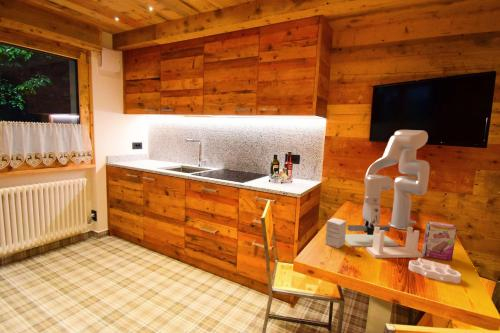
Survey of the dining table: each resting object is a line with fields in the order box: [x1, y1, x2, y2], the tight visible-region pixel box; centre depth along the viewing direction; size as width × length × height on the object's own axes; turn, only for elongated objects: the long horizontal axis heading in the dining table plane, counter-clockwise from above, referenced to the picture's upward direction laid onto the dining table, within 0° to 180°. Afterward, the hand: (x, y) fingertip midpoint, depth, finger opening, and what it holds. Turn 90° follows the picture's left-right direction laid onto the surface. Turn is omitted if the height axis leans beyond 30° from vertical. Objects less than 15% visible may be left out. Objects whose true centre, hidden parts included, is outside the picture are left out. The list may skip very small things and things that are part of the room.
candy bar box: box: [421, 220, 458, 262], centre depth 127 cm, size 11×5×16 cm, turn 71°
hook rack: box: [365, 226, 424, 259], centre depth 130 cm, size 24×8×12 cm, turn 95°
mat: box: [345, 233, 400, 248], centre depth 145 cm, size 26×14×1 cm, turn 95°
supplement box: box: [325, 217, 347, 249], centre depth 138 cm, size 7×7×13 cm
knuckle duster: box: [407, 257, 462, 284], centre depth 114 cm, size 3×18×15 cm
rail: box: [347, 224, 391, 232], centre depth 144 cm, size 22×2×2 cm, turn 95°
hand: (368, 233), depth 144 cm, fingers closed on rail, 2 cm apart
